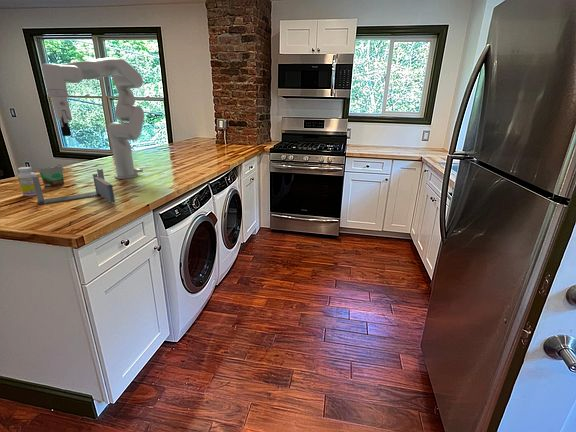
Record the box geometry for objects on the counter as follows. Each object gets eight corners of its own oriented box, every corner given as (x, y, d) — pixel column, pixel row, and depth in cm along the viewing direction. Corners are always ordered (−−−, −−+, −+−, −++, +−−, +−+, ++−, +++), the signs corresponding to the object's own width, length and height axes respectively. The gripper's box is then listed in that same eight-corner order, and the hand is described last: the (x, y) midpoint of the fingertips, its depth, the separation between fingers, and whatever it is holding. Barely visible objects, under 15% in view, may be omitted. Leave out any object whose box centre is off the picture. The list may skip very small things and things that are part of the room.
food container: (52, 188, 155) (47, 169, 151) (42, 187, 156) (37, 168, 153) (72, 183, 166) (68, 164, 163) (63, 182, 167) (59, 164, 164)
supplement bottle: (29, 192, 148) (22, 166, 144) (44, 192, 149) (37, 166, 144) (19, 196, 142) (11, 169, 137) (34, 196, 142) (27, 169, 138)
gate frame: (107, 191, 154) (102, 167, 150) (110, 194, 150) (106, 170, 146) (37, 201, 136) (30, 175, 131) (39, 205, 132) (32, 178, 127)
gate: (95, 192, 149) (92, 174, 145) (99, 191, 150) (96, 173, 147) (110, 202, 134) (107, 183, 131) (115, 202, 136) (111, 182, 133)
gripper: (71, 94, 135) (79, 137, 141) (64, 94, 145) (73, 133, 151) (50, 93, 130) (60, 137, 136) (45, 93, 140) (54, 134, 146)
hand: (66, 135), depth 144 cm, fingers closed
